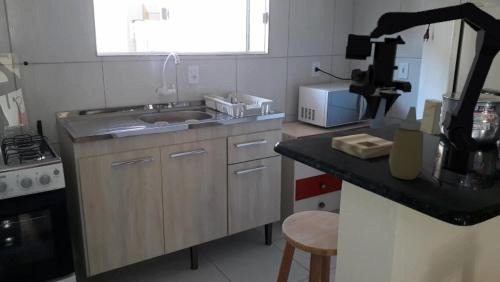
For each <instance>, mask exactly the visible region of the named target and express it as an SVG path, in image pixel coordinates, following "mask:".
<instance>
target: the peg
mask: <svg viewBox="0 0 500 282" xmlns="http://www.w3.org/2000/svg"><path fill="white" fill-rule="evenodd" d="M385 106H386V99H383V98H382V99H381V102H380V105H379V108H378V111H377V114H376V117H375V119H371V118H370V122H369V128H371V129H375V130H376V129H378V130H381V129H383V128H384V119H385V117H384V114H385Z"/></svg>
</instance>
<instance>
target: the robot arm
mask: <svg viewBox="0 0 500 282" xmlns="http://www.w3.org/2000/svg"><path fill="white" fill-rule="evenodd" d="M457 20H461V21H463V22H464V23H465V24H466V25H467V26H469V28H470V29H472V30H473V31H474V32H476V38H475V49H474V50H475V51H474V52H475V53H474V57H473V60H472V62H471V64H470V68H469V71H468V74H467V76H466V80H465V82H464V85H463V88H462V90H461V93H460V96H459V99H458V101H457V104H456V106H455V107H454V109H453V110H452V111H448V110H446V111H445V115H444V119H443V121H442V124H441V125H442V126H441V127H443V128H442V133H443V134H444V135H445V137H446V138H447V139H448V140H449V143H450V144H448V146H447V149H446V150H445V155H444V159H443V160H444V161H443V164H442V165H441V168H443V169H446V170H449V171H452V172H456V173H459V174H462V175H464V174H468V173H471V172H476V171H477V168H476V167H474V166H475V161H476V155H477V152H478V149H479V148H480V144H479V143H478V142H477V140H475V138H474V137H473V135H472V134H473V129H474V124H475V123H474V122H475V119H474V117H475V115H474V114H475V109H476V107H477V104H478V103H479V102H478V101H479V100H480V99H479V98H480V96H481V94H482V91H483V89H484V86H485V84H486V79H487V77H488V75H489V72H490V70H491V67H492V64H493V62H494V59H495V58H496V56H497V55H498V54H499V52H500V18H498V19H497V18H496V17H494V16H493V14H490V13H488V12H486V11H485V10H483V9H482V8H480V7H478V6H477V5H476V4H475V3H474V2H472V1H467V2H463V3H461V4H455V5H450V6H449V5H447V6H444V7H438V8H431V9H426V10H419V11H388V12H384V13H383V14H381V15H380V16H379V17H378V19H377V21H376V27H374V29H372V31H370V32H369V34H368V35H366V34H355V33H348V34H347V42H346V43H347V44H346V47H345V57H344V59H345V60H347V61H348V60H351V61H367V58H370V57H371V56H372V51H373V57H372V64H368V66H367V70H362V69H361V68H354V69H351V73H350V79H351V81H352V82H351V83H350V84H349V86H348V93H350V94H355V95H359V96H362V97H363V99H365V102H366V105H367V109H368V114H369V118H370V120H371V119H375V117H376V114H377V111H378V108H379V105H380V102H381V99H382V98H383V99H386V106H385V114H384V118H385V117H386V116H387V114H388V113H389V111H390V110H391V108H392V107H393V105H394V104H395V102H396V101H397V100H398V98H399V97H401V96H402V93H411V92H412V87H413V86H412V83H411V82H410V81H406V80H399V79H394V73H395V71H397V70H398V69H399V66H398V65H396V59H397V50H398V45H406V41H405V40H404V39H403V38H402V36H401V35H399V34H398V33H401V32H404V31H406V30H410V29H413V28H416V27H420V26H427V25H433V24H439V23H444V22H451V21H457ZM394 34H395V35H396V34H398V35H397V36H396V37H384V38H383V41H379V40H378V41H377V40H375V41H374V40H372V39H379V38H381V37H383V36H392V35H394ZM373 44H374V47H373ZM373 49H374V50H373ZM398 91H401V92H402V93H398Z"/></svg>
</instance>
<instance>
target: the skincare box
mask: <svg viewBox="0 0 500 282" xmlns="http://www.w3.org/2000/svg"><path fill="white" fill-rule="evenodd" d="M442 101H443V100H440V99H436V98H435V99H432V98H431V99H429V98H426V99H424V106H423V112H422V116H421V117H422V118H421V121H420V123H421V126H420V129H419V130H420V131H422V132H423V133H425V134H428V135H432V136H433V135H434V136H435V134H436V135H441V131H440V127H439V122H440V114H441V107H442Z"/></svg>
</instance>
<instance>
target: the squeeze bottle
mask: <svg viewBox="0 0 500 282" xmlns="http://www.w3.org/2000/svg"><path fill="white" fill-rule="evenodd" d="M416 109H417V108H416V107H415V106H410V107H409V110H408V113H407V115H406V118H405V119H402V120H401V121H400V128H398V129H396V130H395V133H394V137H393V141H392V142H393V145H392V149H391V153H390V154H389V157H388V163H389V168H390V173H391V175H392V177H395V178H397V179H401V180H408V181H409V180H414V179H416V178H417V176H418V174H419V173H420V170H421V168H422V167H423V161H424V160H423V157H424V132H422V131H420V128H421V121H417V111H416Z"/></svg>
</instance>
